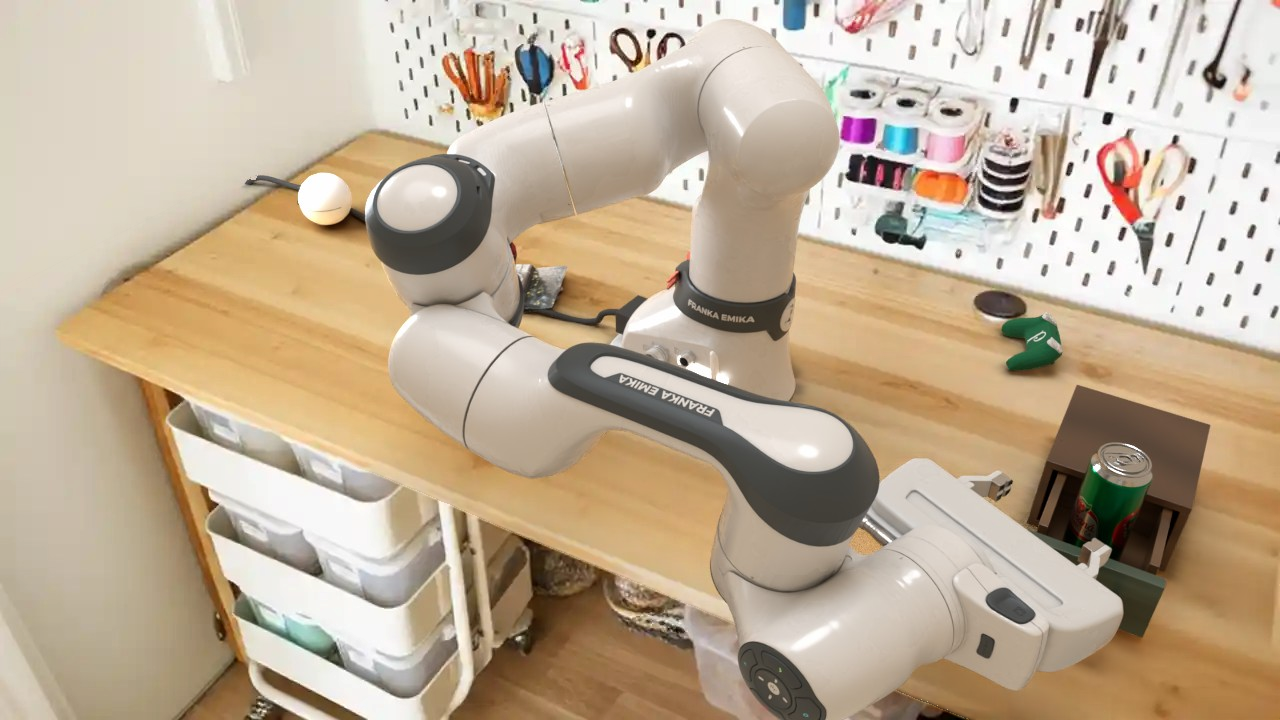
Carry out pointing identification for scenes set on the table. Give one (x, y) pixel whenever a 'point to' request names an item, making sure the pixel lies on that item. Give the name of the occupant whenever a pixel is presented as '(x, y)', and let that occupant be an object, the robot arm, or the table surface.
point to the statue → (539, 283)
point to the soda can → (1110, 497)
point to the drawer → (1136, 564)
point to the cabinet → (1146, 428)
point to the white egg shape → (325, 198)
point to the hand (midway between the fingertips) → (1051, 513)
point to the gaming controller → (1034, 342)
